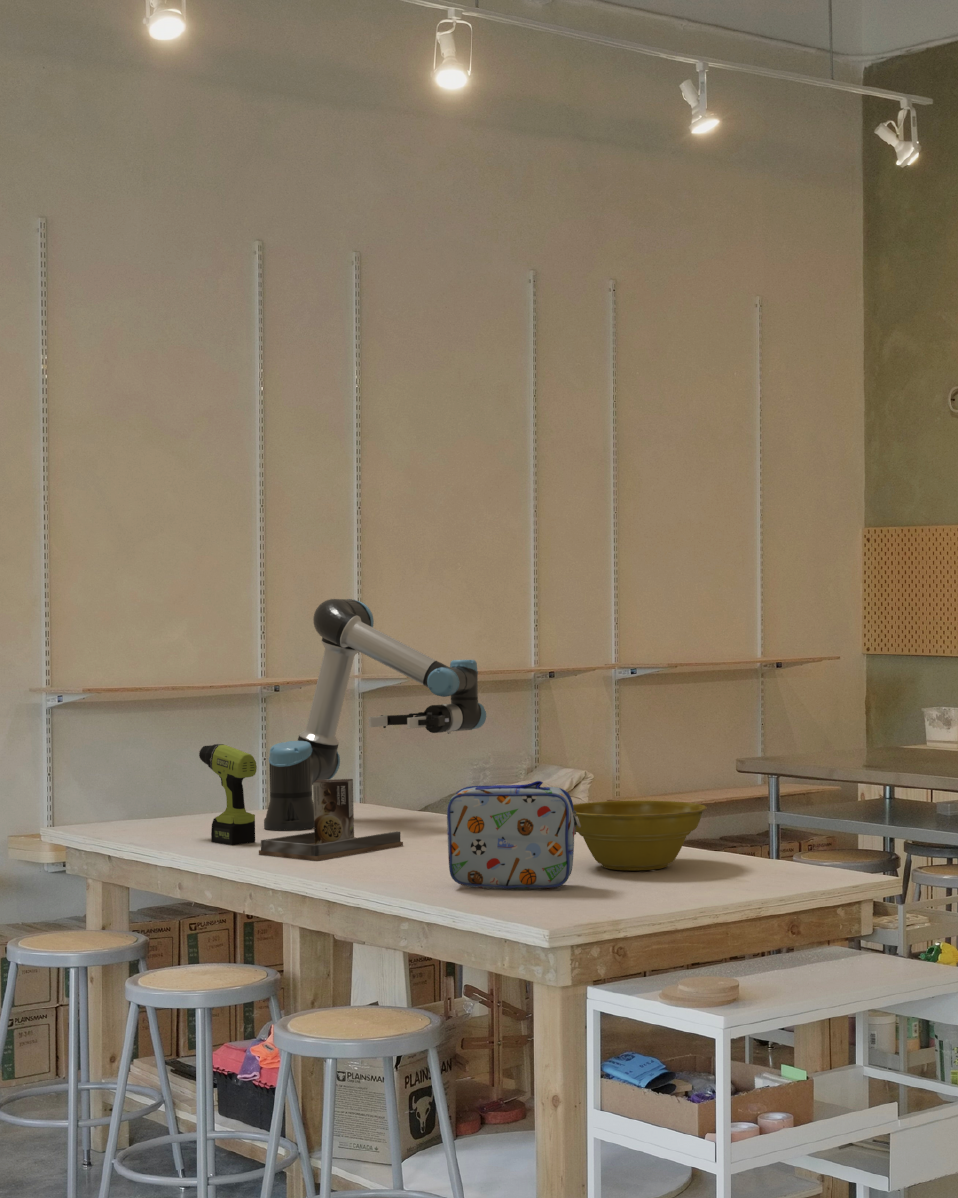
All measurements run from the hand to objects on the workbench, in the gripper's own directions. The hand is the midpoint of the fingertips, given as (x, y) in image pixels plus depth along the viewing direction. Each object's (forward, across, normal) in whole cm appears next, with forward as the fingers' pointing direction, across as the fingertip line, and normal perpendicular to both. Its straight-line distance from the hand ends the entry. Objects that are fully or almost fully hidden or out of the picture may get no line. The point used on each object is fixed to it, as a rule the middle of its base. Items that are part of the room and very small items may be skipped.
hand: (388, 722), depth 395 cm
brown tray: (+24, -2, -30) cm, 38 cm away
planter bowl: (+8, -80, -30) cm, 86 cm away
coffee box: (+23, -2, -29) cm, 37 cm away
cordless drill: (+26, +35, -30) cm, 53 cm away
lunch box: (+44, -74, -30) cm, 91 cm away
